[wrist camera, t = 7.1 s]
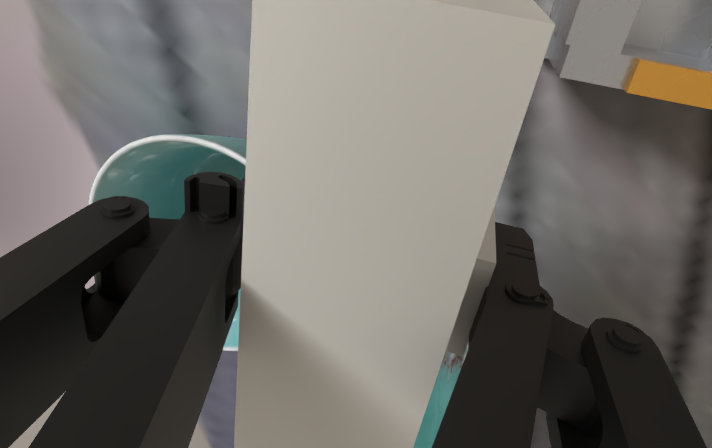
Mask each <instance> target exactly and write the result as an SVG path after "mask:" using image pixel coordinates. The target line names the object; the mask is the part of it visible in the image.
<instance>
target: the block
mask: <svg viewBox="0 0 712 448" xmlns="http://www.w3.org/2000/svg"><path fill="white" fill-rule="evenodd" d="M554 27H555V23H554V22H553V21H552V20H551V19H550V18H549V17H548V16H547V15H546V14H545V12H544V11H543V10H542V9H541V8H540V7H539V6H538V5H537V4H536V3H535V1H534V0H252V24H251V49H250V73H249V97H248V122H247V146H246V170H245V195H244V219H243V244H242V268H241V292H240V317H239V341H238V365H237V390H236V414H235V439H234V448H413V446H414V443H415V440H416V437H417V434H418V431H419V428H420V426H421V423H422V420H423V417H424V414H425V411H426V408H427V405H428V402H429V399H430V396H431V393H432V390H433V387H434V384H435V381H436V378H437V375H438V372H439V369H440V366H441V363H442V360H443V357H444V354H445V351H446V348H447V345H448V342H449V339H450V336H451V333H452V330H453V327H454V325H455V322H456V319H457V316H458V313H459V310H460V307H461V304H462V301H463V298H464V295H465V292H466V289H467V286H468V283H469V280H470V277H471V274H472V271H473V268H474V265H475V262H476V259H477V256H478V253H479V250H480V247H481V244H482V241H483V238H484V235H485V232H486V229H487V226H488V223H489V221H490V218H491V215H492V212H493V209H494V206H495V203H496V200H497V197H498V194H499V191H500V188H501V185H502V182H503V179H504V176H505V173H506V170H507V167H508V164H509V161H510V158H511V155H512V152H513V149H514V146H515V143H516V140H517V137H518V134H519V131H520V128H521V125H522V122H523V120H524V117H525V114H526V111H527V108H528V105H529V102H530V99H531V96H532V93H533V90H534V87H535V84H536V81H537V78H538V75H539V72H540V69H541V66H542V63H543V60H544V57H545V54H546V51H547V48H548V45H549V42H550V39H551V36H552V33H553V30H554Z"/></svg>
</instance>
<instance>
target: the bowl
mask: <svg viewBox="0 0 712 448" xmlns="http://www.w3.org/2000/svg"><path fill="white" fill-rule="evenodd" d="M246 146H247V139H241V138H233V137H223V136H212V135H186V134H168V135H156V136H151V137H146V138H142V139H139V140H137V141H134V142H131V143H129V144H127V145H126V146H124V147H122V148H121V149H119V150H118V151H117V152H115V153H114V154H113V155H112V156H111V157H110V158H109V159H108V160H107V161H106V162H105V163H104V165H103V166H102V167H101V169H100V170H99V172H98V174H97V176H96V178H95V180H94V182H93V185H92V188H91V191H90V197H89V205H90V204H92V203H94V202H96V201H98V200H101V199H104V198H109V197H112V196H119V197H121V196H127V197H132V198H137V199H139V200H142V201H144V202H145V203H146V204H147V205H148V206H149V216H150V218H163V219H180V218H181V217H182V215H183V214H184V212H185V199H184V180H185V179H186V178H188V177H189V176H191V175H194V174H197V173H202V172H221V173H226V174H230V175H232V176H234V177H236V178H238V179H239V180H240V181H241V180H242V179H243V178H244V177H245V170H246ZM240 292H241V288H240V290H239V295H238V308H237V310H236V313H235V316H234V319H233V322H232V325H231V327H230V330H229V333H228V336H227V339H226V342H225V344H224V347H223V350H227V351H238V341H239V317H240Z"/></svg>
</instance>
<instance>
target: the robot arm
mask: <svg viewBox="0 0 712 448" xmlns="http://www.w3.org/2000/svg"><path fill="white" fill-rule="evenodd" d="M244 195H245V177H244V178H243V179H242V180H241V181H240V180H239V179H238V178H236V177H234V176H232V175H230V174H226V173H221V172H202V173H197V174H194V175H191V176H189V177H188V178H186V179H185V180H184V199H185V212H184V214H183V215H182V217H181V218H180V219H163V218H150V216H149V206H148V205H147V204H146V203H145V202H144V201H142V200H139V199H137V198H132V197H127V196H121V197H119V196H112V197H109V198H104V199H101V200H98V201H96V202H94V203H92V204H90V205H88V206H87V207H85V208H84V209H81V210H80V211H78V212H76V213H75V214H73V215H71V216H70V217H68V218H66V219H65V220H63V221H61V222H60V223H58V224H56V225H55V226H53V227H51V228H49V229H48V230H46V231H44V232H43V233H41V234H39V235H38V236H36V237H34V238H33V239H31V240H29V241H28V242H26V243H24V244H23V245H21V246H19V247H17V248H16V249H14V250H13V251H11V252H9V253H7V254H6V255H4V256H2V257H1V258H0V448H8V447H9V446H10V445H11V444H12V443H13V442H14V441H15V440H16V439H18V437H19V436H21V435H22V434H23V433H24V431H26V430H27V429H28V428H29V427H30V426H31V425H32V424H33V423H34V422H35V421H36V419H38V418H39V417H40V416H41V415H42V414H43V413H44V412H45V411H46V410H47V409H48V408H49V407H50V406H51V405H52V404H53V403H54V402H55V401H56V400H57V399H58V398H59V397H60V396H61V395H62V394H63V393H64V392H65V391H66V392H65V393H64V395H63V396H62V398H61V399H60V401H59V402H58V404H57V406H56V407H55V408H54V410H53V412H52V413H51V414H50V416H49V418H48V419H47V420H46V422H45V424H44V425H43V427H42V428H41V430H40V431H39V433H38V434H37V436H36V437H35V439H34V440H33V442H32V443H31V445H30V446H29V448H188V446H189V443H190V441H191V438H192V435H193V432H194V429H195V426H196V424H197V421H198V418H199V415H200V412H201V409H202V407H203V404H204V401H205V398H206V395H207V392H208V390H209V387H210V384H211V381H212V378H213V376H214V373H215V370H216V367H217V364H218V361H219V359H220V356H221V353H222V350H223V347H224V344H225V342H226V339H227V336H228V333H229V330H230V327H231V325H232V322H233V319H234V316H235V313H236V310H237V308H238V295H239V290H240V288H241V268H242V244H243V219H244ZM93 276H94V277H95V284H94V285H93V286H91V287H90V288H89V289H85V284H86V283H87V282H88V281H89V279H91V277H93ZM468 341H469V342H468ZM467 344H468V352H467V354H466V357H465V360H464V362H463V365H462V368H461V370H460V373H459V376H458V378H457V381H456V384H455V386H454V389H453V392H452V394H451V397H450V400H449V403H448V405H447V408H446V411H445V413H444V416H443V419H442V421H441V424H440V427H439V429H438V432H437V435H436V437H435V440H434V443H433V445H432V448H530V446H531V440H532V434H533V428H534V421H535V415H536V409H537V407H538V408H540V409H542V410H544V411H546V412H547V416H546V419H547V425H548V431H549V437H550V442H551V448H707V447H706V445H705V443H704V441H703V439H702V437H701V435H700V433H699V431H698V429H697V427H696V424H695V422H694V420H693V418H692V416H691V414H690V412H689V410H688V408H687V406H686V404H685V402H684V400H683V398H682V396H681V394H680V392H679V390H678V387H677V385H676V383H675V381H674V379H673V377H672V375H671V373H670V371H669V369H668V367H667V365H666V363H665V361H664V359H663V357H662V355H661V353H660V350H659V348H658V347H657V346H656V344H655V343H654V341H653V340H652V339H651V338H650V337H649V336H647V335H646V334H645V333H644V332H643V331H641V330H640V329H639V328H637V327H634V326H633V325H631V324H629V323H627V322H623V321H620V320H617V319H611V318H601V319H596V320H595V321H594V322H593V323H592V324H591V325H590V327H589V329H587V328H585V327H583V326H581V325H579V324H576V323H574V322H572V321H570V320H568V319H566V318H564V317H563V316H561V315H559V314H558V313H557V312H555V311H554V310H553V300H552V298H551V296H550V295H549V294H548V292H547V291H546V290H544V289H543V288H542V287H540V285H539V279H538V272H537V266H536V261H535V254H534V248H533V242H532V239H531V238H530V237H529V235H528V234H527V233H526V232H525V230H524V229H522V228H518V227H513V226H509V225H505V224H501V223H497V222H495V208H494V209H493V212H492V215H491V218H490V221H489V223H488V226H487V229H486V232H485V235H484V238H483V241H482V244H481V247H480V250H479V253H478V256H477V259H476V262H475V265H474V268H473V271H472V274H471V277H470V280H469V283H468V286H467V289H466V292H465V295H464V298H463V301H462V304H461V307H460V310H459V313H458V316H457V319H456V322H455V325H454V327H453V330H452V333H451V336H450V339H449V342H448V345H447V348H446V352H450V353H454V354H457V355H461V356H463V355H464V352H465V350H466V347H467Z"/></svg>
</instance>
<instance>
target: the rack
mask: <svg viewBox="0 0 712 448" xmlns="http://www.w3.org/2000/svg"><path fill="white" fill-rule="evenodd" d="M550 19H551V20H552V21H553V22H554V23H555V27H554V30H553V33H552V36H551V39H550V42H549V45H548V48H547V51H546V54H545V57H544V58H547V59H549V61H550V62H551V64H552V66H553V67H554V69H555V71H556V72H557V74H558V76H559V77H561V78H566V79H571V80H576V81H581V82H587V83H592V84H597V85H602V86H607V87H612V88H617V89H622V90H624V91H625V92H626V93H630V94H635V95H640V96H646V97H651V98H656V99H661V100H666V101H671V102H676V103H681V104H686V105H691V106H696V107H701V108H706V109H711V110H712V0H555V2H554V5H553V8H552V11H551V14H550Z"/></svg>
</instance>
